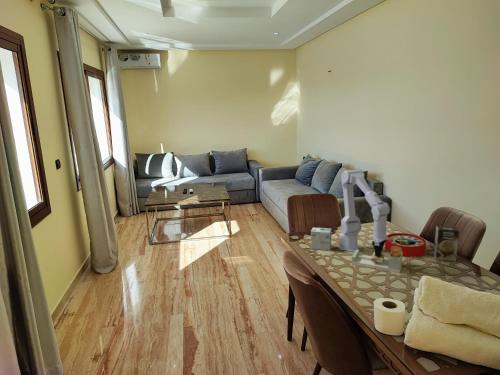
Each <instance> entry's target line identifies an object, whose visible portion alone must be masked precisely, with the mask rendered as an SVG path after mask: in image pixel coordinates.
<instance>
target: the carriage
mask: <svg viewBox="0 0 500 375" xmlns="http://www.w3.org/2000/svg"><path fill="white" fill-rule="evenodd" d="M371 256H372V257H371V261H373V262H379V263H383V260H384V258H385V257H386V256H385V252H383V251H382V252H381V256H376V255H375V251H374V252H373V253H372V255H371Z"/></svg>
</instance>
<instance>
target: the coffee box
mask: <svg viewBox="0 0 500 375" xmlns="http://www.w3.org/2000/svg"><path fill="white" fill-rule="evenodd" d="M434 235H435V236H434V244H433V245H434V247H433V257H434V259H435V260H438V261H447V262H448V261H449V262H456V261H457V254H458V244H459V238H460V236H459V235H460V230H459V229H458V228H457V226H450V225H436V226H435V234H434Z"/></svg>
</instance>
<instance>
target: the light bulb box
mask: <svg viewBox="0 0 500 375" xmlns="http://www.w3.org/2000/svg"><path fill="white" fill-rule="evenodd" d="M310 249H311V250H321V251H331V249H332V228H325V227H312V229H311V230H310Z"/></svg>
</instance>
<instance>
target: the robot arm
mask: <svg viewBox="0 0 500 375" xmlns="http://www.w3.org/2000/svg"><path fill="white" fill-rule="evenodd" d="M340 176H341V177H340V178H341V180H340V181H341V185H342V186H341V187H342V193H343V203H344V204H343V205H344V217H343V218H341V220H340V222H341V224H340V233H339V238H338V239H339V242H338V243H339V244H338V250H339V251H340V250H341V251H348V252H353V253H354V252H355V251H356V249H357V250H359V249H360V246H359V245H358V243H359V242H358V240H359V239H358V235H359V234H360V232H361V231H362V223H361V220H360V218H359V217H358V216H356V208H355V206H356V204H355V195H354V187H355V186H356V185H357V187H359V189H360V190H361V191H362V192H363V193H364V199H365V200H366V202H367V203H368V205H369V206H370V208H371V209H370V210H371V214H372V218H373V232H372V239H373V241H371V245H372V246H373V248H374V252H375V255H376V256H381V252H382V253H383V250H384V247H385V242H386V240H388V237H386V236H387V220H388V219H387V218H388V215H389V214H390V213H391V207H390V205H389V204H388V202H385V201H382V200H383V199H381V198H380V196H379V195H378V193H377V192H376V191H373V190H372V189H371V188H370V186H369V184H368V182H367V181H366V179H365V173H364V171H363V170H362V169H360V168H357V169H349V170H344V171H343V172H342V173H341V174H340Z"/></svg>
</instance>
